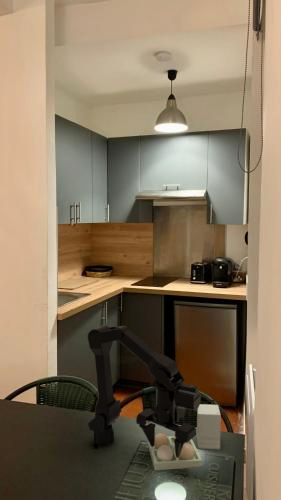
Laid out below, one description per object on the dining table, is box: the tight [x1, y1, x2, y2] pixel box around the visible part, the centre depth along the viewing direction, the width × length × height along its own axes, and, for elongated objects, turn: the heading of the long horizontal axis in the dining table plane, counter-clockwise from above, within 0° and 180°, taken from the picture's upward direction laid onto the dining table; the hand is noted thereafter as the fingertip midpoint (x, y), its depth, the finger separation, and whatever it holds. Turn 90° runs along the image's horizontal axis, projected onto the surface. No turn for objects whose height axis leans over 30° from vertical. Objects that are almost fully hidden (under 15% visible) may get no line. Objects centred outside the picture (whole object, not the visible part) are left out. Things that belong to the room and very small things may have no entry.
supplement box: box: [196, 403, 222, 450], centre depth 134 cm, size 7×7×13 cm
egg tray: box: [147, 435, 203, 471], centre depth 127 cm, size 14×14×3 cm
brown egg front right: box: [179, 443, 195, 460], centre depth 124 cm, size 5×5×5 cm
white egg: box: [157, 445, 173, 462], centre depth 123 cm, size 5×5×5 cm
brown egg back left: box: [154, 432, 169, 449], centre depth 130 cm, size 5×5×5 cm
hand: (164, 451), depth 123 cm, fingers open, 9 cm apart
